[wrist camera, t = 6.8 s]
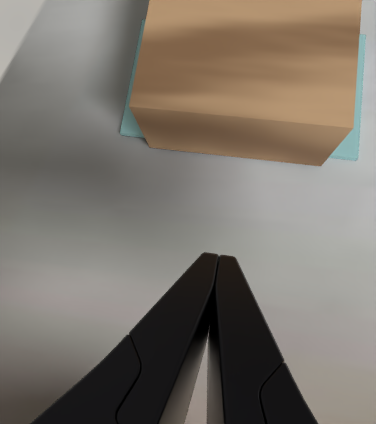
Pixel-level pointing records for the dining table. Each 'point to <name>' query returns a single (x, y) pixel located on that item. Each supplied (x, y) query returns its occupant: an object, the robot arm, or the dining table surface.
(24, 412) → the dining table surface
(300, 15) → the light brown wooden block
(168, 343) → the robot arm
